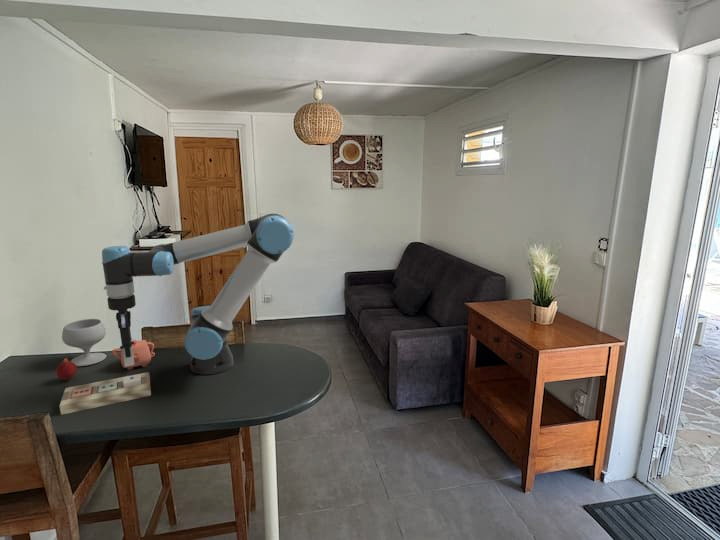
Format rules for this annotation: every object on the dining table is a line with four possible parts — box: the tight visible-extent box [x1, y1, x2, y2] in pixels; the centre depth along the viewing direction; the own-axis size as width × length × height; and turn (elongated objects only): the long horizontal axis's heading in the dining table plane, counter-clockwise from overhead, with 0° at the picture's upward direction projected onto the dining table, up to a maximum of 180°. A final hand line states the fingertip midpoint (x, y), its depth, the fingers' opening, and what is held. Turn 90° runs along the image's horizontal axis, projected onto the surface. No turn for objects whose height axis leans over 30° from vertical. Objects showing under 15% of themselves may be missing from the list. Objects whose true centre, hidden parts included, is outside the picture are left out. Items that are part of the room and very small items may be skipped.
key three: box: [71, 387, 93, 399], centre depth 129 cm, size 5×5×3 cm
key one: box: [122, 373, 142, 388], centre depth 135 cm, size 5×5×3 cm
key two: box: [98, 382, 118, 393], centre depth 132 cm, size 5×5×3 cm
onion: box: [56, 357, 78, 381], centre depth 142 cm, size 6×6×8 cm
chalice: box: [61, 318, 107, 367], centre depth 157 cm, size 14×14×15 cm
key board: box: [59, 371, 152, 416], centre depth 132 cm, size 24×12×3 cm, turn 118°
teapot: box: [111, 339, 156, 371], centre depth 154 cm, size 12×12×10 cm
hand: (129, 364), depth 134 cm, fingers closed
